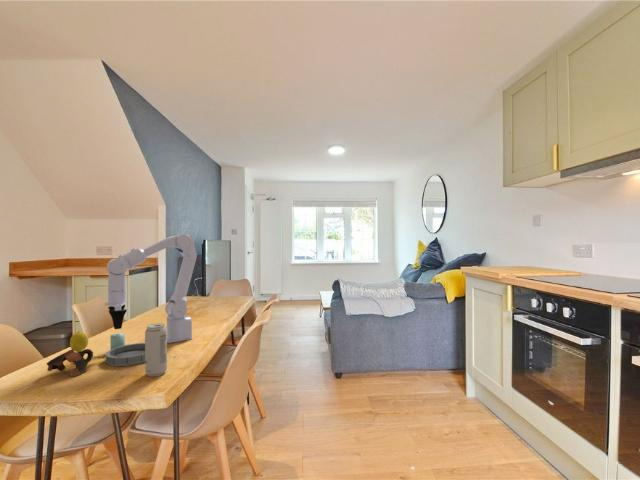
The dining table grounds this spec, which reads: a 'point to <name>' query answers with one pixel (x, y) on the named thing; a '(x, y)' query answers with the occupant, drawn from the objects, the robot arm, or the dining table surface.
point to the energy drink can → (155, 350)
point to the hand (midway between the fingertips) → (117, 326)
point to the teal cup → (117, 340)
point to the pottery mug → (71, 357)
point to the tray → (126, 355)
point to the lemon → (79, 341)
